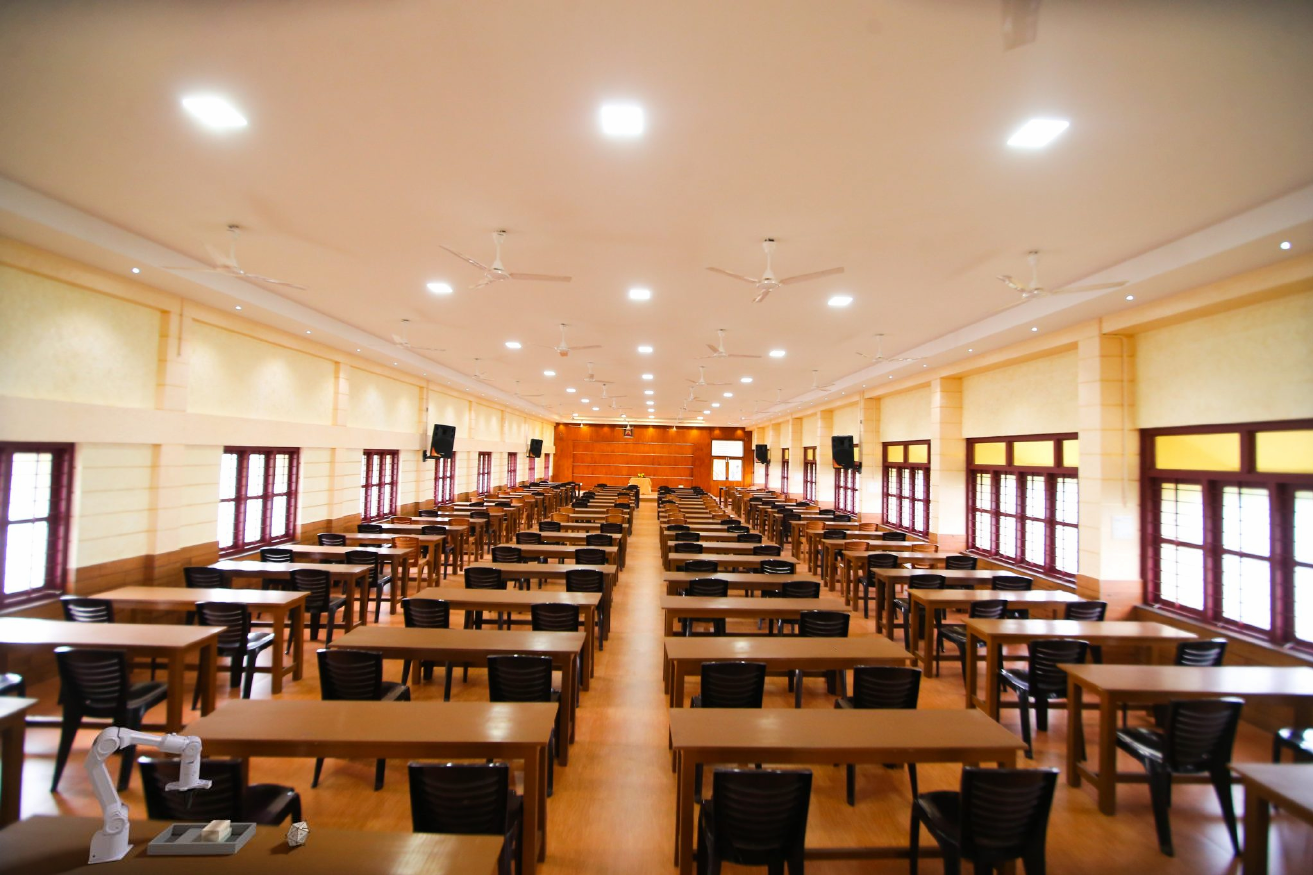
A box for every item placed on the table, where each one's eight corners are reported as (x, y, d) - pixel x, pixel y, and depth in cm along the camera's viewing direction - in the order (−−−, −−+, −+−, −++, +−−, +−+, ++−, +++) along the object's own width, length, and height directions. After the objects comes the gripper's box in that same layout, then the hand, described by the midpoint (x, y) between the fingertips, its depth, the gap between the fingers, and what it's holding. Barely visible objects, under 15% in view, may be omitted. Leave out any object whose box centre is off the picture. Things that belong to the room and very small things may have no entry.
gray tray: (146, 854, 205) (147, 844, 205) (172, 833, 217) (173, 823, 217) (234, 854, 207) (235, 843, 207) (255, 832, 219) (256, 822, 219)
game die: (298, 857, 212) (299, 844, 207) (278, 847, 212) (278, 834, 207) (316, 832, 220) (317, 819, 215) (296, 822, 220) (297, 810, 215)
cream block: (201, 841, 209) (202, 830, 209) (212, 831, 215) (213, 820, 215) (218, 841, 210) (219, 830, 210) (229, 831, 216) (230, 820, 216)
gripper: (161, 777, 213) (158, 815, 212) (204, 775, 216) (202, 812, 215) (173, 767, 220) (170, 804, 219) (215, 765, 223) (213, 802, 222)
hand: (186, 807), depth 218 cm, fingers closed
